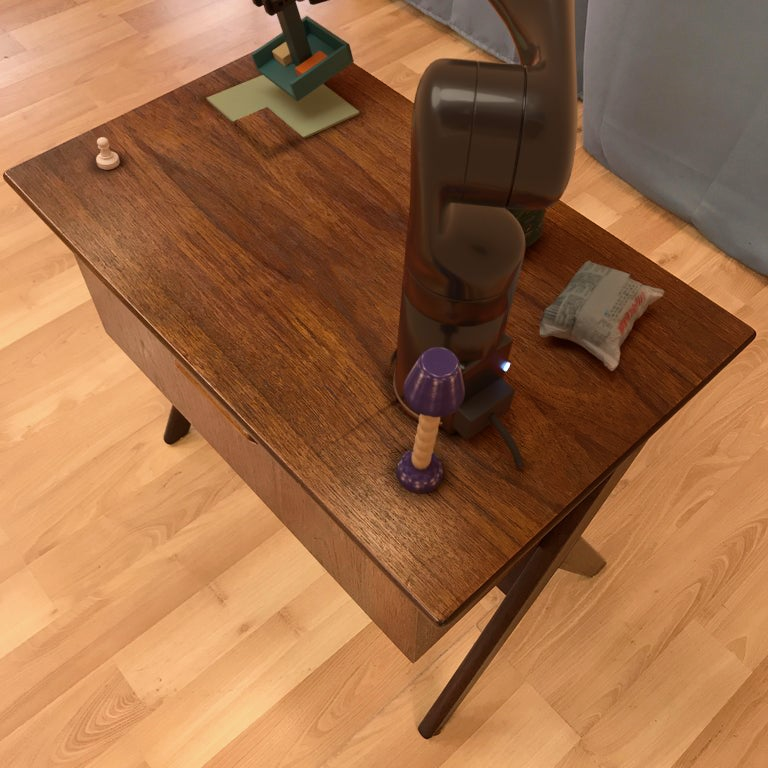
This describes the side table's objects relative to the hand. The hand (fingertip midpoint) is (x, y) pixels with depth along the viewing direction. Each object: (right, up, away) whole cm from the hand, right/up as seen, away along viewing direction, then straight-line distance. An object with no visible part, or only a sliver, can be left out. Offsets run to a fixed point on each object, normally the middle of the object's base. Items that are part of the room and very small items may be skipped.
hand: (259, 3), depth 90 cm
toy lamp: (+17, -52, -20) cm, 58 cm away
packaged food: (+36, -37, -8) cm, 53 cm away
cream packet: (+2, -1, +10) cm, 11 cm away
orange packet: (+6, -5, +8) cm, 11 cm away
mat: (+1, -8, +12) cm, 14 cm away
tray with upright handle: (+4, -3, +10) cm, 11 cm away
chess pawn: (-19, -17, +4) cm, 26 cm away
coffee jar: (+27, -27, -1) cm, 38 cm away
